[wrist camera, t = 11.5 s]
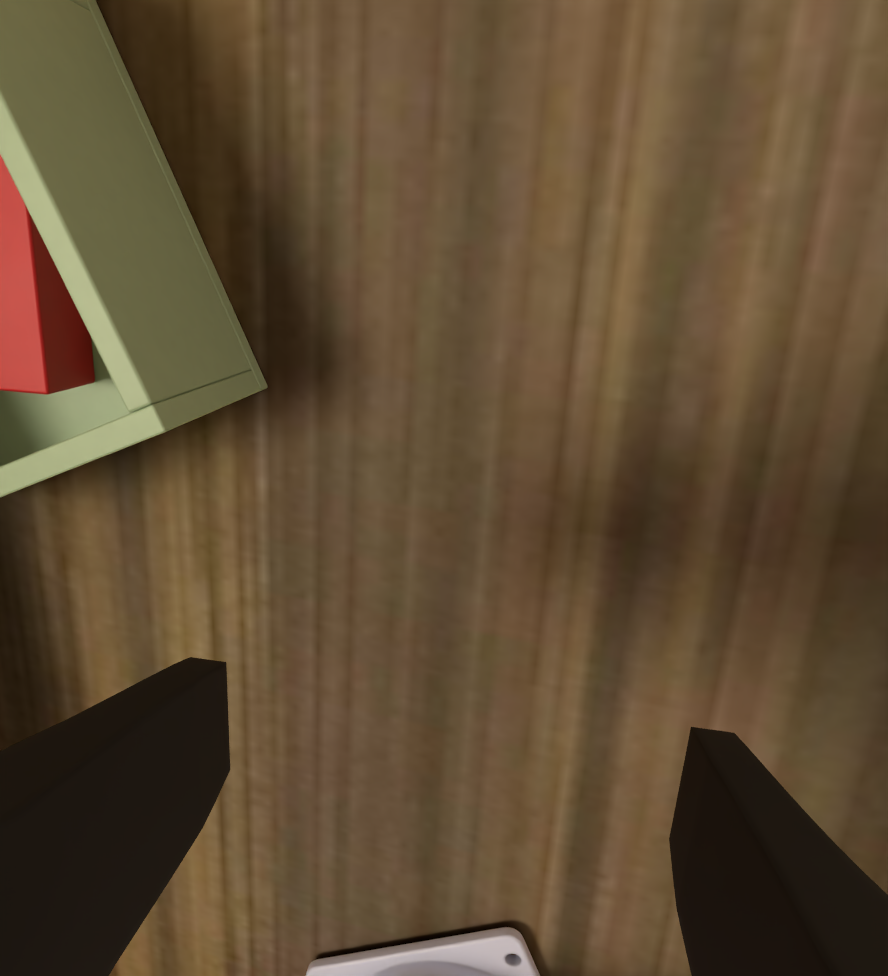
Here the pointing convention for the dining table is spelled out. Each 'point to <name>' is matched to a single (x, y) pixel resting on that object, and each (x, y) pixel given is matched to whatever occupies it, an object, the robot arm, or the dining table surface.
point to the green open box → (107, 250)
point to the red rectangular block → (36, 308)
